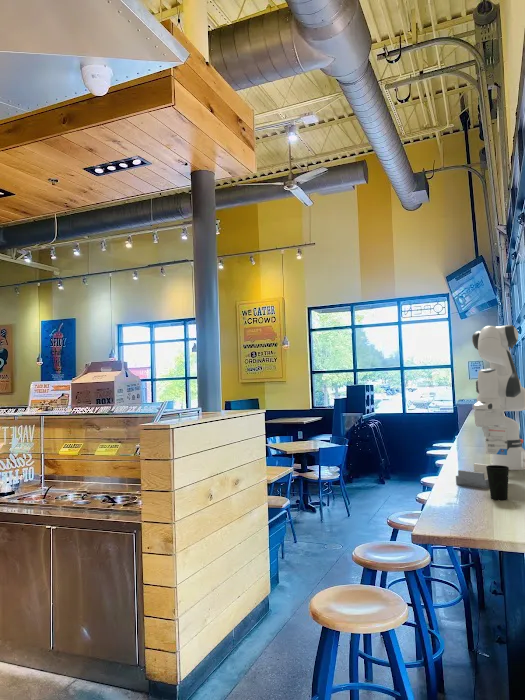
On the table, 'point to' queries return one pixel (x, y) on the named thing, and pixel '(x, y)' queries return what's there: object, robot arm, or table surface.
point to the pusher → (481, 469)
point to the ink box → (496, 441)
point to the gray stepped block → (472, 479)
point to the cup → (498, 481)
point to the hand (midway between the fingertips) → (491, 435)
